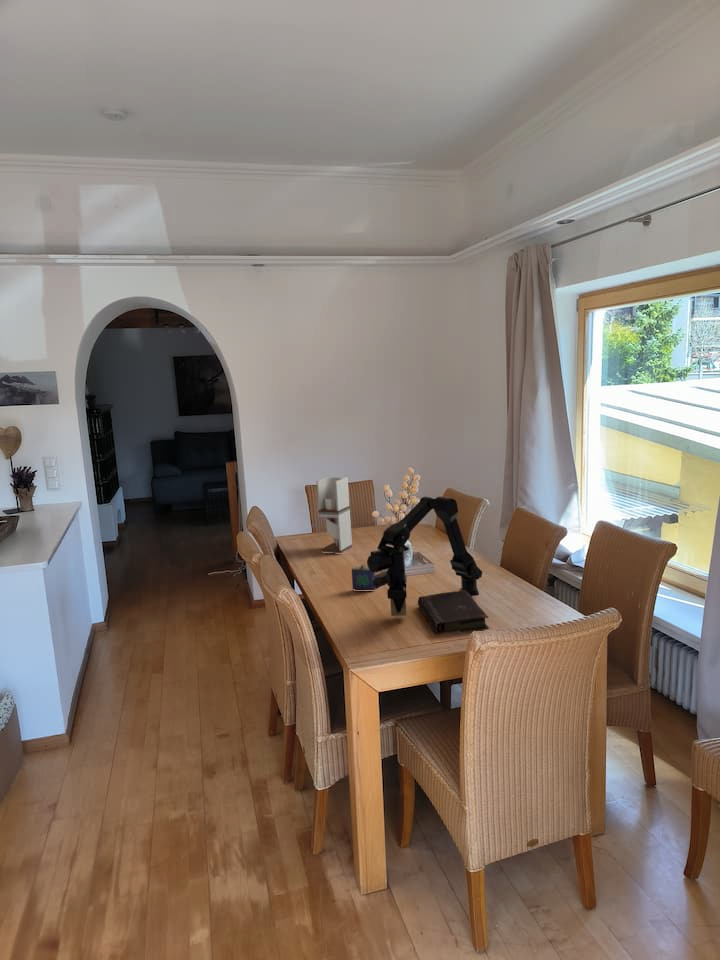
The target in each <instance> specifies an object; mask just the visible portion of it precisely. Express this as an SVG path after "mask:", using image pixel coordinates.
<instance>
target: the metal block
mask: <svg viewBox="0 0 720 960" xmlns="http://www.w3.org/2000/svg"><path fill="white" fill-rule="evenodd" d="M406 600H407V599H406V598H405V601H404V603H403V606H402V609H401V611H400V612H399V613H397V611H396V607H395V604H394V601H393V599H390V602H389V603H390V614H391V615H390V616H391V617H398V616H399V617H401V616H402V617H403V616H404V617H405V616H407V601H406Z"/></svg>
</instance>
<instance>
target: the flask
mask: <svg viewBox="0 0 720 960" xmlns="http://www.w3.org/2000/svg"><path fill="white" fill-rule="evenodd" d="M365 566H366V563H362V564H360V566H355V567H352V568H351V581H352V583H351V584H352V590H353V589H355V590H375V587H374V586H373V583H372V577H373V576H375V575H376V572H375V573H373V572H371V571H370V570H369V568H368V567H365Z"/></svg>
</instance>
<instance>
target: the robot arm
mask: <svg viewBox="0 0 720 960" xmlns="http://www.w3.org/2000/svg"><path fill="white" fill-rule="evenodd" d="M432 510H433V511H434V512H435V515H436V517H437V518H439V519H440V520H441V521H442V523H443V526H444V529H445V532H446V535H447V538H448V542H449V544H450V548H451V550H452V554H453V556H452V559H450V560H449V562H450V565H451V570H453V571H454V573H455V575H456V576H457V577H458V576H459V577H461V578H460V580H461V581H460V582H461V583H460V584H461V587H460V588H459V591H465V590H466V591H467V592H468V593H469V594H470V596H472V595H473V596H474V595H479V594H480V592H479V589H478V583H477V582H478V581H477V580H479V579H481V578H482V577H483V576H482V575H483V571H482V570H481V568H480V567H478V566H477V563H476V561H475V559H474V557H473V556H472V555H471V554H470V553H469V551H467V547H466V544H465V541H464V538H463V535H462V532H461V529H460V525H459V522H458V520H457V518H458V514H459V508H458V501H456V499H455V498H451V497H445V496H437V497H430V496H422V497H421V498H420V500H419V501H418V502H417V504H416V505H415V506H414V507H413V508H412V509H410V511H409V512H408V513H406V515H405V516H404V517H403V518H402V519H401V520H400V521H398V522H396V523H392V525H390V526H389V527H387V528H386V529H385V530H384V531H383V532H382V533H383V535H382V537H381V539H380V541H379V543H378V546H377V550H372V551H370V555H369V556H368V558H367V560H366V565H367V568H369V570H370V571H371V572H373V573H375V576H373V577H372V583H373V586H374V587H375V589H376V590H377V589H379V588H381V587H383V586H385V585H387V587H388V588H387V592H386V593H387V599H393V601H394V604H395V607H396V611H397V613H399V612H400V611H401V609H402V606H403V603H404V601H405V598H407V592H408V591H407V583H408V582H407V574H406V564H405V552H407V551H409V550H410V548H409V547H408V546H407V545H406V543H407V542H408V540H409V539H410V536H411V533H412V531H413V530H414V529H415V528H416V527H417V526H418V524H419V523H420V522H421V521H422V520H423V519H424V518H425V517H426V516H427V515H428V514H429V513H430V512H431V511H432ZM384 570H386V571H384ZM381 571H384V572H381ZM378 572H380V573H378ZM376 573H378V574H376Z"/></svg>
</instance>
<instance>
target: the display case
mask: <svg viewBox="0 0 720 960" xmlns="http://www.w3.org/2000/svg"><path fill="white" fill-rule="evenodd" d="M348 479H349V478H348V477H347V476H346V477H345V476H343V477H342V476H338V477H337V476H327V477H324V478H322V479H318V480H316V493H317V507H318V517H319V518H325V522H326V523H325V524H326V525H325V526H326V533H327V534H328V535H329V536H331V537H332V538H333V542H332V543H330V544H328V545H326V546H325V547H323V548H321V552H322V551H323V552H333V553H343V552H344V551H346V550H348V549H350V548H351V547H352V548H353V539H352V536H353V535H352V525H351V523H352V521H351V513H350V512H351V508H350V494H349V493H350V492H349V480H348ZM350 550H351V549H350Z"/></svg>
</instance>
